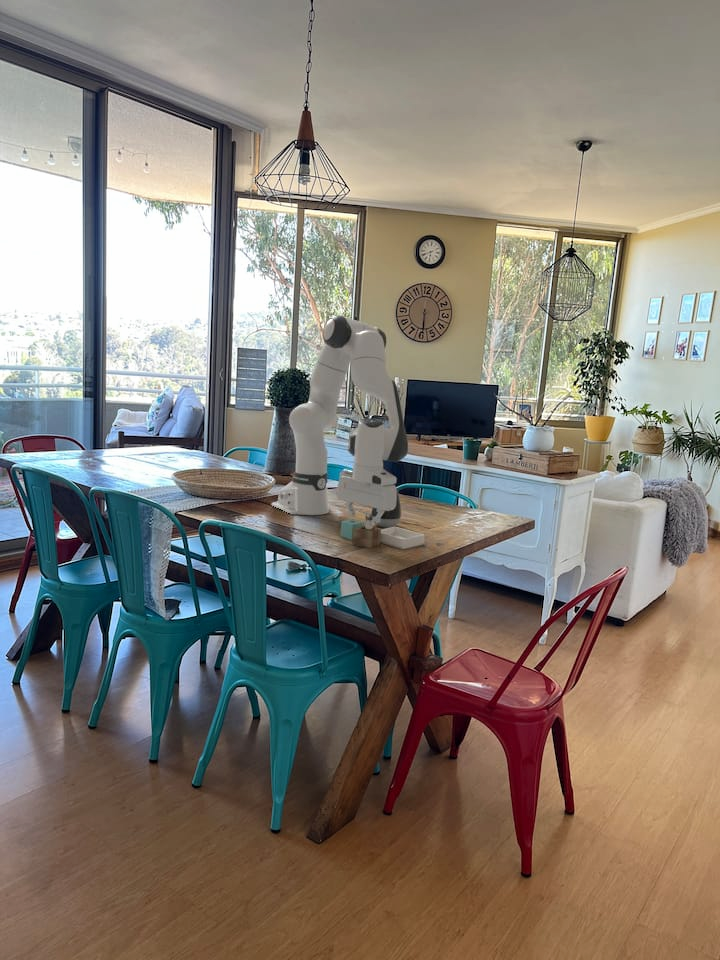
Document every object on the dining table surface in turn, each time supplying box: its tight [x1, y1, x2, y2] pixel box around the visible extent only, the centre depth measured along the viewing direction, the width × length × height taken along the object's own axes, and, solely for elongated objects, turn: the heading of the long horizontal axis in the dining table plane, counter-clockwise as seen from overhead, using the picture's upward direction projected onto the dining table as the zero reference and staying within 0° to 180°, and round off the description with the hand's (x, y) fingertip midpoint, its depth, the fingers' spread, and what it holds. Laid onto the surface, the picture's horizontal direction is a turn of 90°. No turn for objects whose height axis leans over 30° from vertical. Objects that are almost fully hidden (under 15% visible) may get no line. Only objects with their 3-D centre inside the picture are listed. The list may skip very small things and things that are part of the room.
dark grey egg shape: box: [370, 484, 402, 529], centre depth 234 cm, size 10×10×15 cm
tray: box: [380, 526, 426, 550], centre depth 215 cm, size 12×10×3 cm
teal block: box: [340, 519, 365, 541], centre depth 218 cm, size 5×5×5 cm
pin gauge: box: [364, 514, 374, 530], centre depth 210 cm, size 2×2×9 cm
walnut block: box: [352, 524, 382, 549], centre depth 211 cm, size 6×6×5 cm
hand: (363, 519), depth 209 cm, fingers open, 8 cm apart
